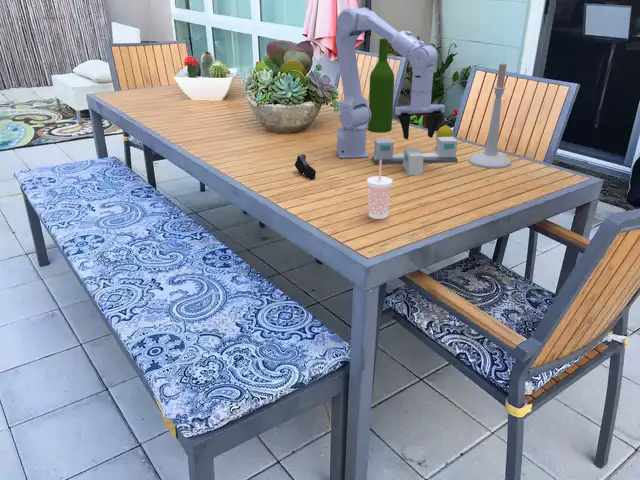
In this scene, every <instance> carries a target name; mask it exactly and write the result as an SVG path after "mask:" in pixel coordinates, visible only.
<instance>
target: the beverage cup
mask: <svg viewBox="0 0 640 480" xmlns="http://www.w3.org/2000/svg"><path fill="white" fill-rule="evenodd" d="M378 165H379V169H378V170H379V171H378V175H375V176H374V175H373V176H370V177H368V178H367V179H366V185H367V192H368V194H367V195H368V196H367V197H368V217H369V218H372V219H375V220H376V219H378V220H380V219H381V220H382V219H386V218H387V217H388V215H389V207H390V198H391V190H392V186H393V182H394V181H393V178H390V177H388V176H383V175H382V165H383V164H382V160H380V164H378Z"/></svg>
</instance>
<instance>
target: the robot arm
mask: <svg viewBox="0 0 640 480" xmlns="http://www.w3.org/2000/svg"><path fill="white" fill-rule="evenodd" d="M336 27H337V29H336V33H335V34H336V36H335V44H336V51H337V57H338V58H337V60H338V65H339V69H340V70H339V71H340V78H341V85H342V90H343V100H342V101H341V103H340V105H339V109H340V112H339V117H338V120H339V122H340V125H341V126H342V127H338V128H337V131H336V153H337V155H338V158H339V159H350V158H353V159H356V158H357V159H358V158H368V157H369V154H368V152H367V151H366V150H367V149H366V148H367V127H368V122H369V121H370V119H371V111H370V109H369V103H368V100H367V99H366V98H365V97H364V96H363V94H362V90H361V89H362V88H361V87H362V86H361V82H360V74H359V67H358V59H357V52H356V47H355V45H356V44H355V43H356V41H357V40H358V38H360V36H361V35H362V34H364V33H365V32H366V31H368V30H369V31H372V32H373V33H375V34H376V35H378V36H380V37H382V39H386V40H388V42H389V43H391V48H392V50H394V51H395V52H397V53H398V54H399V55H401V56H402V57H404V58H405V59H407V60H408V61H409V64H410V65H411V67H412V68H411V69H412V71H411V72H412V77H411V78H412V79H411V90H410V91H411V92H410V104H409V105H408V104H407V105H400V106H395V109H394V110H395V111H394V113H395V115H396V116H397V118H398V120H399V123H400V126H401V130H402V134H403V135H402V136H403V139H405V140H409V133H410V123H411V120H412V117H411V116H410V115H411V114H425V113H426V114H427V115H428V116H427V117H428V128H427V137H429V138H433V137H434V134H435V131H436V129H437V126H438V124H439V123H440V121H441V120H442V118H443V113H445V112H446V105H445V104H441V103H440V104H436V103H435V104H432V103H431V102H432V92H433V83H434V81H433V79H434V70H435V69H434V68H435V67H434V66H435V65H436V64H437V62H438V60H439V51H438V50H437V48H436V47H435V46H434V45H433V44H426V45H425V41H423V40H419V39H417V37H414V36H413V35H412V34H413V33H412V32H411V31H410V30H401V31H398V30H396V29H395V28H394V27H393V26H392V25H390V24H389V23H388V22H387V21H385V20H384V19H382V18H381V17H380V16H378V15H377V13H376V12H375V11H372V10H370V8H368V7H360V8H359V7H358V8H344V9H342V10H341V12H339V14H338V16H337V18H336ZM409 114H410V115H409Z"/></svg>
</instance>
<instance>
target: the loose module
mask: <svg viewBox="0 0 640 480" xmlns="http://www.w3.org/2000/svg"><path fill="white" fill-rule="evenodd" d="M403 154H404V156H403V164H402V168H403V169H404V171H405V172H406V174H407V175H408V176H423V169H424V168H423V167H424V163H423V158H424V155H423V153H422V152H421V151H420V149H419V148H418V147H404V148H403Z"/></svg>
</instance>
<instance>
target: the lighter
mask: <svg viewBox="0 0 640 480" xmlns="http://www.w3.org/2000/svg"><path fill="white" fill-rule="evenodd" d="M294 166H295V168H296V170H297V172H298V173H299V175H300V174H301V175H304V177H306V179H308V178H309V179H308V180H315V179H316V175H317V174H316V173H317V170H315V168H314V167H312V166H311V165H309V162H308V161H307V156H306V154H304V153H302V154H299V155H297V159H296V160H295V163H294ZM303 173H304V174H303Z"/></svg>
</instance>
